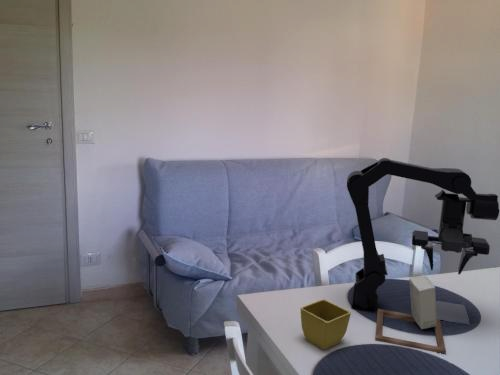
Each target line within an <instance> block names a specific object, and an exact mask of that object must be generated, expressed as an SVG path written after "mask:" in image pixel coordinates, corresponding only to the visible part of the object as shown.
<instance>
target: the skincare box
mask: <svg viewBox="0 0 500 375" xmlns="http://www.w3.org/2000/svg"><path fill="white" fill-rule="evenodd" d="M408 281H409V282H408V283H409V292H410V293H409V296H410V308H411V315H412V316H413V318H414V319H415V321H416V322H415V323H416V324H417V326H419V328H420V330H425V329H429V328H434V326H437V317H436V301H437V300H436V299H437V296H436V286H435V285H434V284H433V283H432V281H431V280H430V279H429V278H428V277H427V276H426V275H425V274H422V275H421V274H420V275H417V276H412V277H409V280H408Z"/></svg>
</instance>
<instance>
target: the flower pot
mask: <svg viewBox="0 0 500 375" xmlns="http://www.w3.org/2000/svg"><path fill="white" fill-rule="evenodd" d="M351 314H352V312H351V311H349V310H347V309H345V308H343V307H342V306H339V305H338V304H335V303H333V302H331V301H329V300H327V299H320V300H317V301H314V302H312V303H309V304H307V305H304V306H302V307H300V319H301V320H300V321H301V330H302V332H303V335H304V337H305V339H306V341H307V342H309V343H312V344H313V345H315V346H316V347H318V348H320V349H322V350H327V349H329V348H331V347H333V346H336V345H338V344H339V343H341V341H342V340H343V338H344V336H345V335H346V333H347V329H348V326H349V322H350V318H351Z"/></svg>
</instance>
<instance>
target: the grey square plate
mask: <svg viewBox="0 0 500 375" xmlns="http://www.w3.org/2000/svg"><path fill="white" fill-rule="evenodd" d="M436 317H437V319H439V320H444V321H443V322H445V321H451V322H455V321H456V320H457V319H458V321H459V320H460V321H461V322H463V321H464V320H466V322H468V321H470V318H469V316H468V312H467V309H466V306H465V304H460V303H453V302H446V301H442V300H436ZM451 322H450V323H451Z"/></svg>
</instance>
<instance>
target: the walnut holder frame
mask: <svg viewBox="0 0 500 375" xmlns="http://www.w3.org/2000/svg"><path fill="white" fill-rule="evenodd" d="M376 313H377V315H376V325H375V326H376V327H375V336H374V338H375V339H374V340H375V341H377V342H381V343H385V344H391V345H396V346H402V347H408V348H413V349H417V350H423V351H428V352H434V353H436V354H439V353H441V354H440V355H444V354H445V355H446V352H447V350H446V345H445V344H446V343H445V339H444V334H443V330H442V326H441V325H442V324H441V321H440V320H439V319H437V326H434V327H433V329H435V330H434V335H435V336H434V337H435V341H436V345H432V344H427V343H421V342H417V341H411V340H405V339H402V338H401V339H400V338H396V337H390V336H385V335H383V324H384V318H391V319H396V320H402V321H408V322H414V323H417V322H416V321H415V319H414V318H413V316H412V313H411V314H410V313H403V312H399V311H393V310H387V309H381V308H377V312H376Z"/></svg>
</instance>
